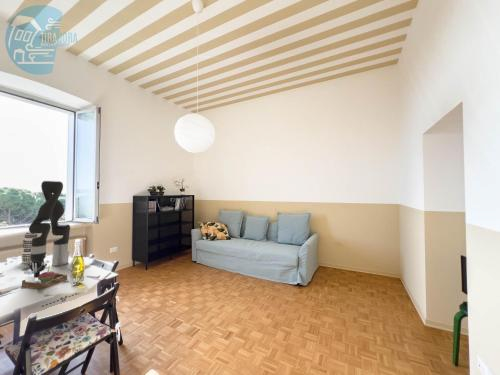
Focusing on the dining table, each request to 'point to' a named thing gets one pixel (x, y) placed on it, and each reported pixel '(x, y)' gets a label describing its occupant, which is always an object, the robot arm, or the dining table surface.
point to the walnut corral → (40, 286)
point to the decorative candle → (27, 246)
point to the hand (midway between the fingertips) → (36, 277)
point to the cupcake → (46, 276)
